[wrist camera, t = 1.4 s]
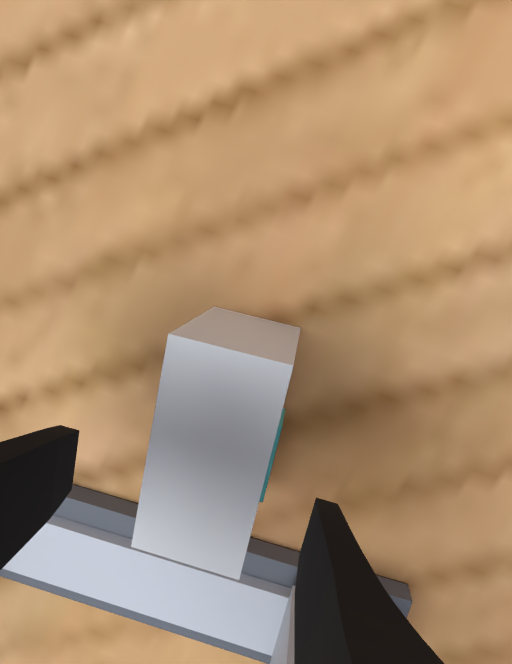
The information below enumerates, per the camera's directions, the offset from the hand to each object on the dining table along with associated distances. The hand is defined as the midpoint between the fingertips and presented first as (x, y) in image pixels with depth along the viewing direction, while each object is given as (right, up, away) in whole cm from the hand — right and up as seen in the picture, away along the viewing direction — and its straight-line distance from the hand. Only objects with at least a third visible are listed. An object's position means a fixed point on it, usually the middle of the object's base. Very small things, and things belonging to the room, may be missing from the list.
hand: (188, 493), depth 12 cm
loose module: (+1, +2, +8) cm, 8 cm away
